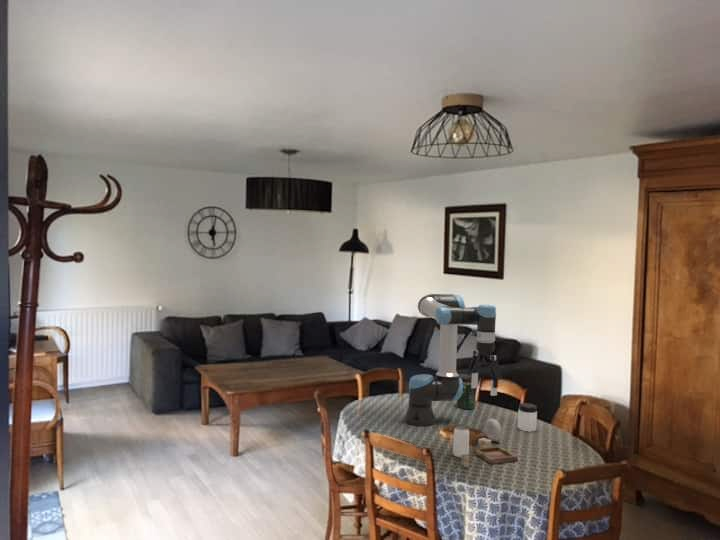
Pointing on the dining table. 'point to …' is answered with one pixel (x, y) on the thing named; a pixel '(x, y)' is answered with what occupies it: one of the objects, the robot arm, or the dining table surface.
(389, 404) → the dining table surface
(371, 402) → the dining table surface
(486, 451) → the walnut tray
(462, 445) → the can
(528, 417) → the jar
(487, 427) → the white round disc
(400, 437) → the dining table surface
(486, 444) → the beech block
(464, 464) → the cork
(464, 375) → the coffee jar
